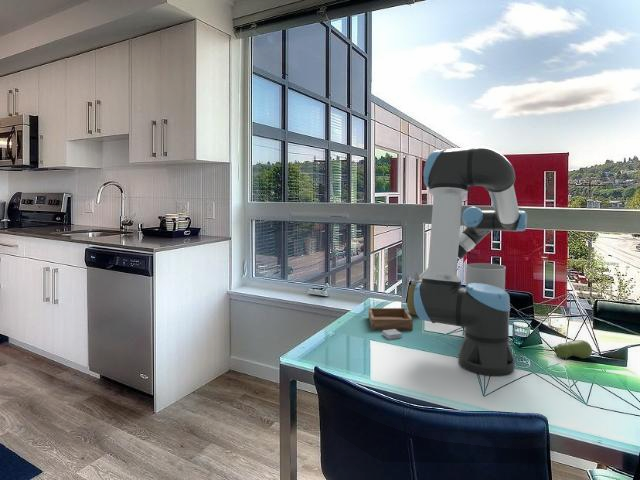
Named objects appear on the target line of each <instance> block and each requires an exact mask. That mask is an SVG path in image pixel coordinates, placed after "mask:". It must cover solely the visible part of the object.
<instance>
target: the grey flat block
mask: <svg viewBox="0 0 640 480" xmlns="http://www.w3.org/2000/svg"><path fill="white" fill-rule="evenodd" d="M381 332H382V336H383V337H385V338H386V339H387V340H396V339H397V340H398V339H402V338H403V336H402V335H403V334H402V332H400V330H396V329H390V330H381Z"/></svg>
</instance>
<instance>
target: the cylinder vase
mask: <svg viewBox="0 0 640 480" xmlns="http://www.w3.org/2000/svg"><path fill="white" fill-rule="evenodd" d="M465 267H466V269H465V270H466V271H465V272H466V273H465V287H466V286H467V285H468V284H469V283H482V284H488V285H492V286H496V287H499V288H501V289H503V290H505V291H506V268H507V267H506V266H505V265H501V264H498V263H486V262H477V263H475V262H474V263H467V264H466V266H465Z"/></svg>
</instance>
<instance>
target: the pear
mask: <svg viewBox="0 0 640 480" xmlns="http://www.w3.org/2000/svg"><path fill="white" fill-rule="evenodd" d="M553 350H554V352H555V354H556V355H557V357H558V358H561V359H567V358H569V357H570V356H571V357H572V356H573V357H576V358H578V359H588V358H590V357H591V356H592V354H593V348H592V346H591V344H590V343H589V342H588V341H586V340H583V339H576V340H571V341H568V342H563V343H559V344H557V345H555V346H554V347H553Z"/></svg>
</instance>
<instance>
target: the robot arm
mask: <svg viewBox="0 0 640 480" xmlns="http://www.w3.org/2000/svg"><path fill="white" fill-rule="evenodd" d="M515 181H516V173H515V169H514V166H513V164H512V163H511V162H510V161H509V160H508V159H507V158H506V157H505V156H504V155H503V154H502V153H500V152H498V151H496V150H494V149H493V148H489V147H485V146H475V147H460V148H458V147H457V148H444V149H439V150H434V151H432V152H431V153H430V154H429V155H428V156H427V159H426V160H425V164H424V167H423V183H424V185H425V187H426V188H428V191H429V193H430V195H431V196H432V197H433V198H432V199H433V200H432V210H431V227H430V238H429V239H430V240H429V249H428V250H429V252H428V261H427V262H428V264H427V268H426V269H425V270H424V271H422V273H420V274H419V276H420V280H422V282H420V283H418V284H417V285H416V287H415V291H414V306H415V310H416V313H417V315H416V316H417V317H418V318H419V319H420V320H422V321H425V322H430V323H432V324H436V323H437V324H440V325H447V326H454V327H461V328H464V335H465V337H464V339H463V342H462V344H461V347H460V349H459V352H458V358H457V359H458V361H457V362H458V364H459V366H461V367H462V368H463V369H465V370H467V371H469V372H472V373H475V374H479V375H484V376H492V377H493V376H495V377H496V376H499V377H500V376H506V375H509V374H511V373H513V372H514V371H515V359H514V355H513V352H512V349H511V346H510V343H509V335H510V330H509V328H510V327H509V326H510V312H511V305H510V304H511V303H510V301H511V300H510V299H511V298H510V294H509V293H508V291H506V289H505V290H503V289H501V288H499V287H496V286H492V285H488V284H482V283H469V284H468V285H467V286H466V285H465V287H462V280H461V279H460V278H459V277H458V275H457V273H458V261H460V260H462V259H463V258H464V257H465V256H466V255H468V252H471V250H474V249H475V247H476V246H477V245H478V244H479V243H480V242H481V241H482V240H483V239H484V238H485V237H487V235H488V234H490V233H491V232H492V231H497V232H498V231H499V232H524V231H526V229H527V224H528V213H527V212H526V211H524V210H519V209H520V208H519V205H518V200H517V194H516V190H515V187H514V186H515V185H514V184H515ZM469 187H483V188H484V189H485V190H486V191H488V194H489V197H490V199H491V203H492V206H493V209H494V210H481V208H480V207H477V206H470V207H467V208H465V210H463V212H462V205H463V198H464V197H466V196H467V194H468V192H469ZM461 219H462V221H463V225H464V226H465V227H466V228H465V229H464V230H462V232H461Z"/></svg>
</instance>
